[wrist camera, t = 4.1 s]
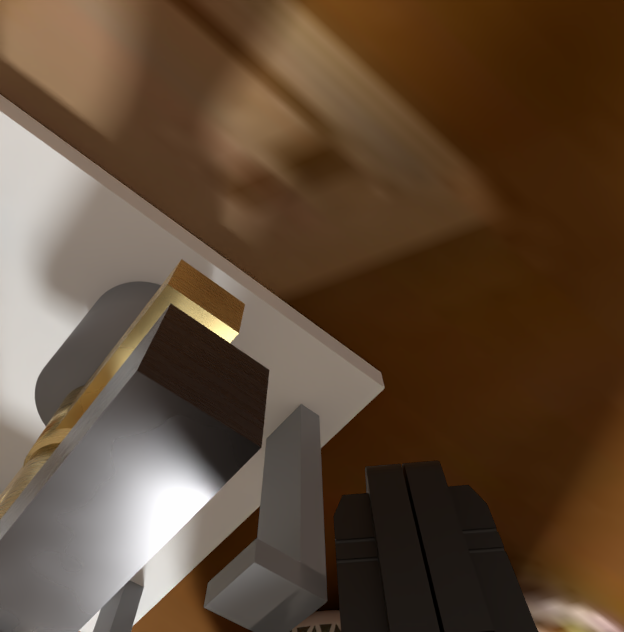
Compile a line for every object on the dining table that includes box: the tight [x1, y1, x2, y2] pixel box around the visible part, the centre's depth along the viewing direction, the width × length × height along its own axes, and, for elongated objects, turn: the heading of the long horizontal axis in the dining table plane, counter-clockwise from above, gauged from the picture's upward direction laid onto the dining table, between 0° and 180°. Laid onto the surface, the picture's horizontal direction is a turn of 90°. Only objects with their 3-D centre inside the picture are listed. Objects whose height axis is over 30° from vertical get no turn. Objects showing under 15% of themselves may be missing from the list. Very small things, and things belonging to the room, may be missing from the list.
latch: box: [0, 259, 269, 632], centre depth 13 cm, size 14×2×8 cm, turn 140°
